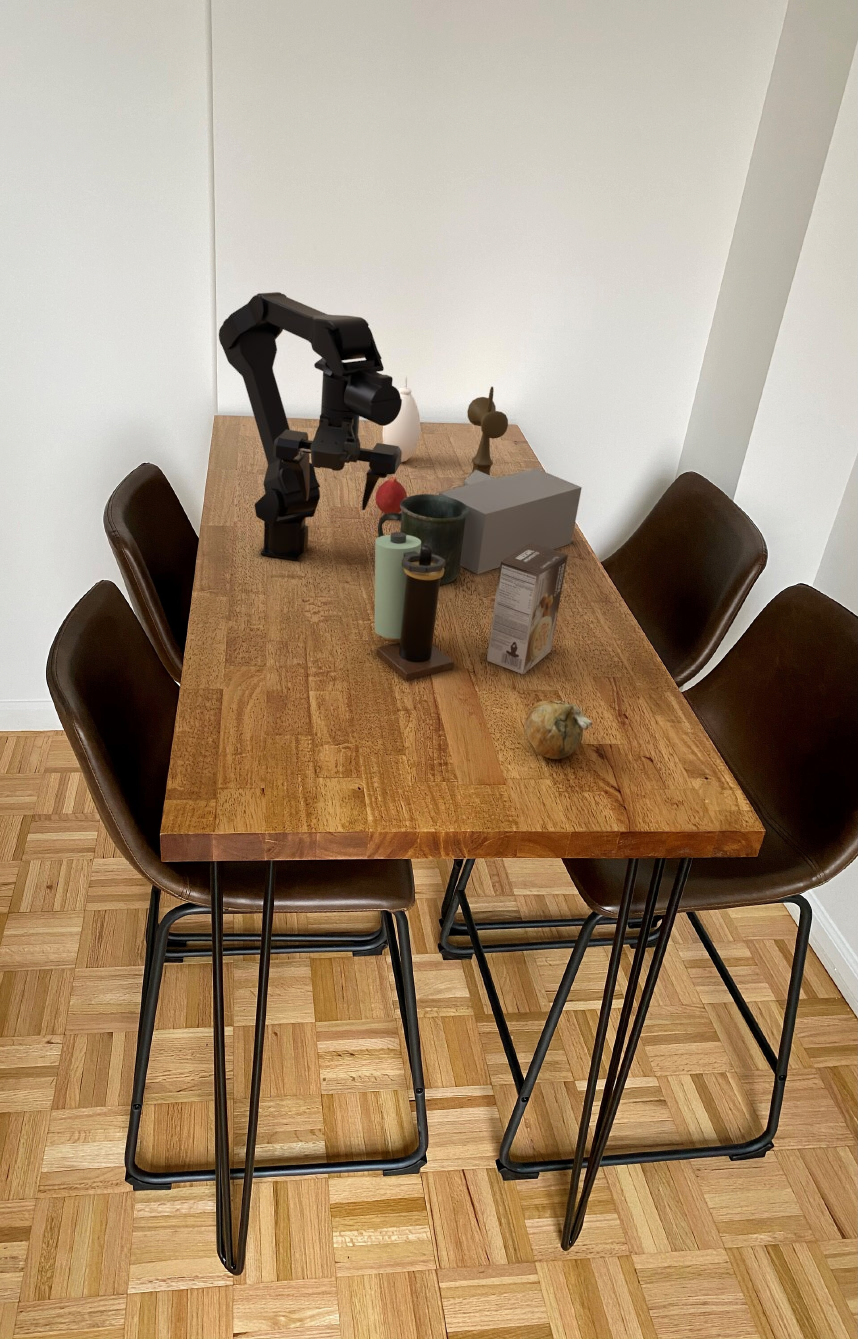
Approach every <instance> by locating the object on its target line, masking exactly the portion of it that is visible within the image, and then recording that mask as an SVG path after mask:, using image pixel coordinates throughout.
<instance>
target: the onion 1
mask: <svg viewBox="0 0 858 1339" xmlns="http://www.w3.org/2000/svg"><path fill="white" fill-rule="evenodd" d="M407 497H408V493H407V490H406V489H405V487H404V486H403V484H401V483H400V482H399V481H398V480H397V476H395V475H393V476H391V477H390V478H389V479H388V480H385V481H384V482H383V483H382V484H380V486H379V487H378V488H377V490H376V492H375V504H376V506H377V508H378V509H379V510H380V511H381V512H382V514H387V513H401V512H402V510H401V508H400V503H401V501H402V500H403V499H405V498H407Z"/></svg>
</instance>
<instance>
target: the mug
mask: <svg viewBox="0 0 858 1339" xmlns="http://www.w3.org/2000/svg"><path fill="white" fill-rule="evenodd" d="M400 508H401V512H399V513H387V514H385V513H383V515H382V516H381V517H380V518H379V520H378V523H377V536H378V537H377V538H379V537H381V536H385V534H384V530H383V524H384V523H386V522H387V521H400V528H399V529H400V530H399V532H402V533H405V534H406V535H409V536H413V537H416V538H418V539H420V540H421V547H422V546H423V545H429V546H431V548H432V554H433V555H438V556H439V557H441V558H443V559H445V566H444V575H443V576H442V577H441V578H440V585H439V586H442V585H447V584H450V583H452V582H454V581H456V579H457V578H458V577H459V574H460V567H461V566H460V560H461V552H462V544H463V536H464V528H465V520H466V517H467V516H468V514H469V508H468V507H467V506H466V505H465V504H464V503H462V502H460V501H459V500H456V499H453V498H450V497H446V496H441V495H439V494H431V493H430V494H429V493H424V494H423V493H421V494H414V495H410V496H407V498H405V499H403V500H402V501H401V503H400Z"/></svg>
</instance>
